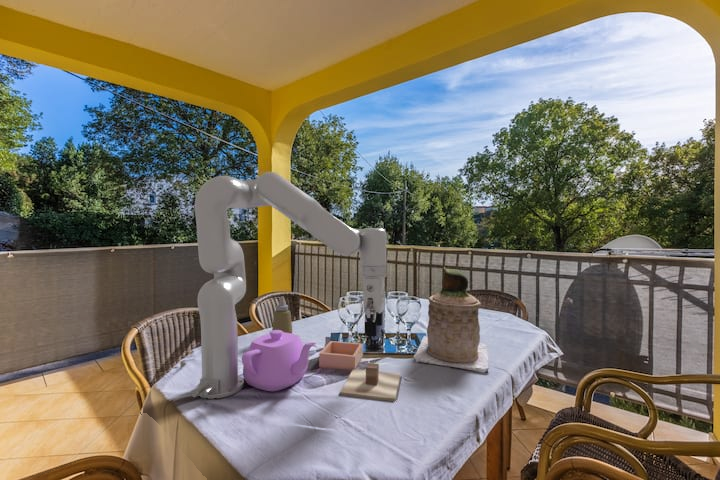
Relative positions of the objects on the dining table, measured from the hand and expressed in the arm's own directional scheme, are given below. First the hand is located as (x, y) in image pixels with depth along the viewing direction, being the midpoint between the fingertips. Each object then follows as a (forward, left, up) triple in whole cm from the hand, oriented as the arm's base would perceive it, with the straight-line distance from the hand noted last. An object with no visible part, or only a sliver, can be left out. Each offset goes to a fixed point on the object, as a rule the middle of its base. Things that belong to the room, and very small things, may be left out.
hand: (373, 330), depth 97 cm
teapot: (-3, +28, -17) cm, 33 cm away
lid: (0, 0, -16) cm, 16 cm away
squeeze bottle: (+29, +42, -17) cm, 54 cm away
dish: (+14, +13, -17) cm, 25 cm away
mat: (0, 0, -17) cm, 17 cm away
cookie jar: (+30, -24, -17) cm, 41 cm away
